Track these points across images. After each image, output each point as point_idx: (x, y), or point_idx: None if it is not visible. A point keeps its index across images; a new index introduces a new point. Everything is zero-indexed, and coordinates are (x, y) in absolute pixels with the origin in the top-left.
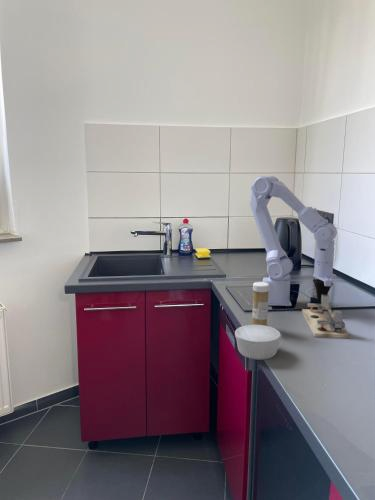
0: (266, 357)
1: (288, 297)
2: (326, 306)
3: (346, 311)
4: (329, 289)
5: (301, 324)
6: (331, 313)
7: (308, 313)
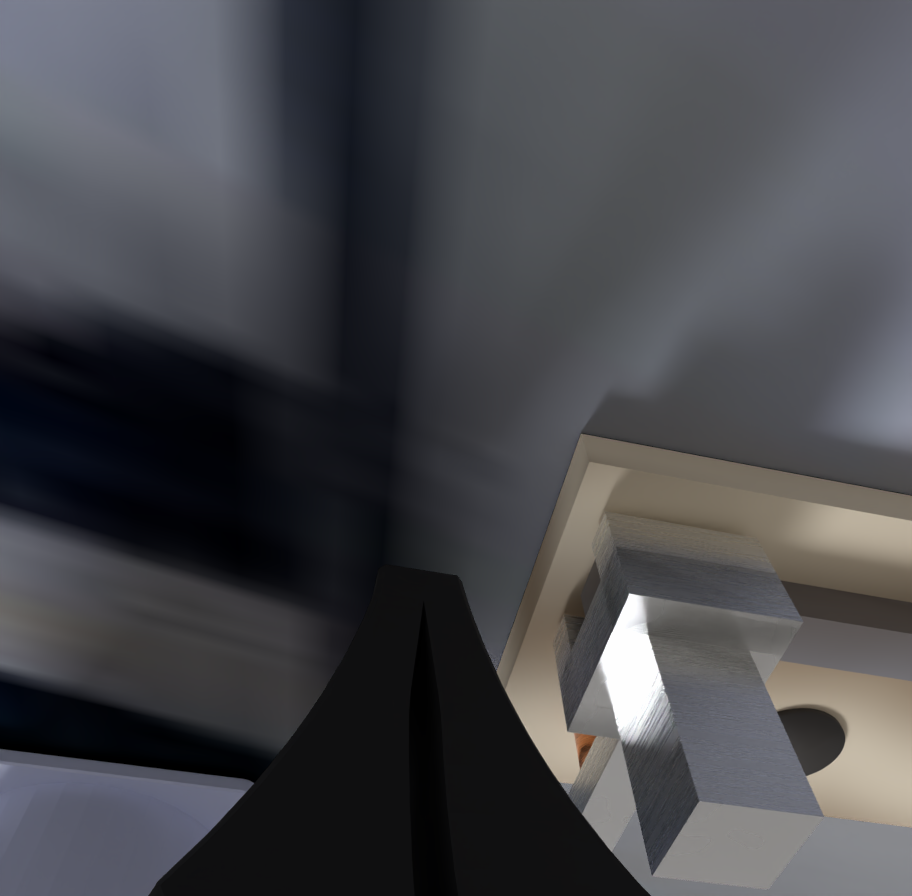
0: None
1: (147, 882)
2: (762, 676)
3: (554, 95)
4: (575, 809)
5: (836, 832)
6: (745, 515)
7: None
